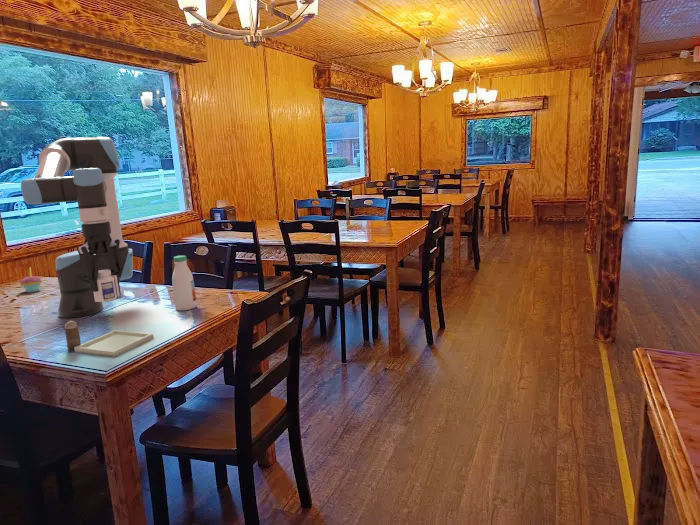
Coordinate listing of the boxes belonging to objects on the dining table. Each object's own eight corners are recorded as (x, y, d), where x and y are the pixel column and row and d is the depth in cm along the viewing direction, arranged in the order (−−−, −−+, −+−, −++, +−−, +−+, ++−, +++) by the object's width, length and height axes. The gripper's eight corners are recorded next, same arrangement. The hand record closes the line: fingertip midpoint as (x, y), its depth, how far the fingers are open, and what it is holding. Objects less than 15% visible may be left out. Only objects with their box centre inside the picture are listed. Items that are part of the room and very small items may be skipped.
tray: (74, 352, 150) (74, 347, 150) (116, 334, 164) (115, 329, 164) (114, 356, 144) (113, 352, 144) (153, 338, 158) (152, 333, 158)
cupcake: (46, 289, 233) (42, 264, 231) (27, 294, 226) (22, 268, 224) (37, 288, 238) (32, 263, 236) (18, 292, 231) (13, 267, 229)
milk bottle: (190, 311, 186) (183, 258, 182) (171, 311, 187) (164, 258, 183) (200, 305, 193) (194, 254, 189) (182, 305, 195) (175, 254, 191)
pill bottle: (102, 297, 154) (97, 269, 152) (119, 296, 154) (115, 268, 152) (95, 302, 148) (90, 273, 147) (113, 301, 149) (108, 271, 147)
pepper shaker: (65, 350, 151) (60, 322, 150) (75, 346, 155) (71, 318, 153) (74, 351, 150) (69, 323, 148) (84, 347, 154) (80, 319, 152)
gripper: (77, 226, 137) (91, 308, 142) (129, 217, 153) (139, 291, 158) (58, 226, 140) (72, 306, 144) (110, 218, 156) (121, 290, 161)
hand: (107, 298), depth 151 cm, fingers closed on pill bottle, 5 cm apart
